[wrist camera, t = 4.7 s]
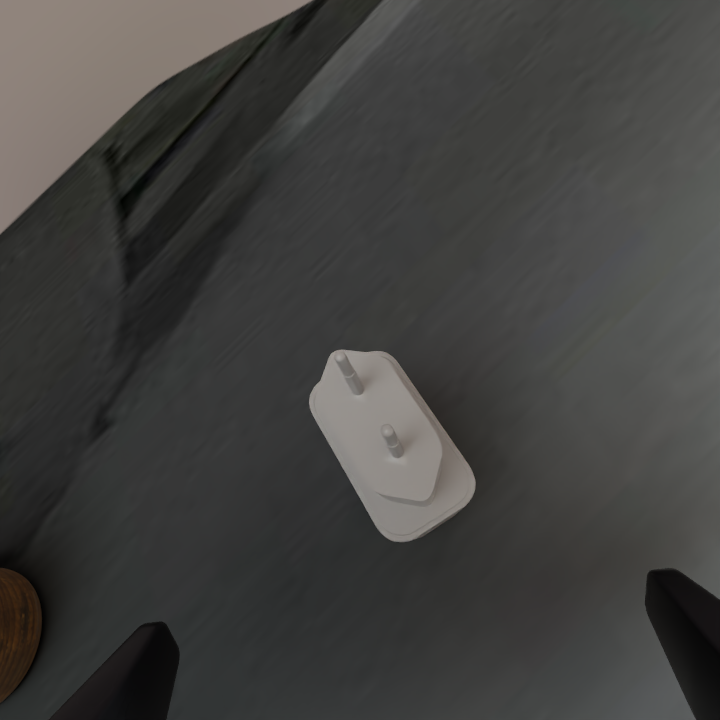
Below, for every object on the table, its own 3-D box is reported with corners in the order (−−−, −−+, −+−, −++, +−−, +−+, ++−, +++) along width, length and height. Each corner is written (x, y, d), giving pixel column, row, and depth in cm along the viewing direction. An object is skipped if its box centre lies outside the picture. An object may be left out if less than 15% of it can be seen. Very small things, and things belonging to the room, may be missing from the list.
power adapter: (407, 546, 19) (365, 565, 8) (343, 437, 21) (238, 329, 10) (469, 506, 19) (516, 468, 8) (400, 402, 21) (359, 255, 10)
